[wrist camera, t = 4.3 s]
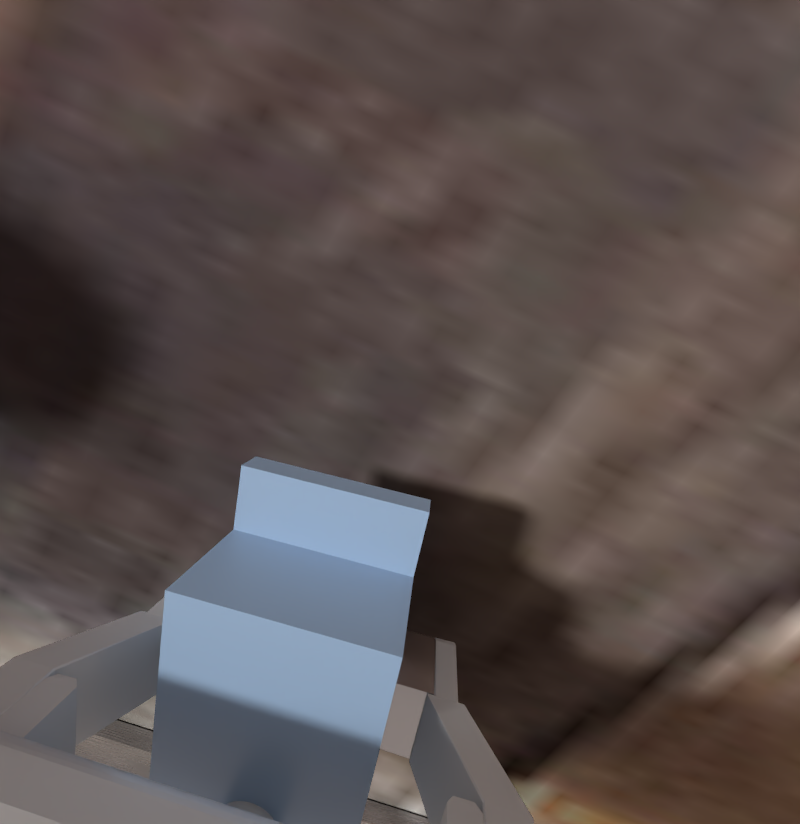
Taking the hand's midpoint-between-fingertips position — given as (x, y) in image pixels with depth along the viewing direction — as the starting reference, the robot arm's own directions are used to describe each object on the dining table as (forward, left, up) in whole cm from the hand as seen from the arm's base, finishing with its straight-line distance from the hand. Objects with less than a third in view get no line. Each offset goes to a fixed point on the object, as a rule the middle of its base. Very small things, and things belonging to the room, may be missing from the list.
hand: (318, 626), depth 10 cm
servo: (0, 0, -2) cm, 2 cm away
